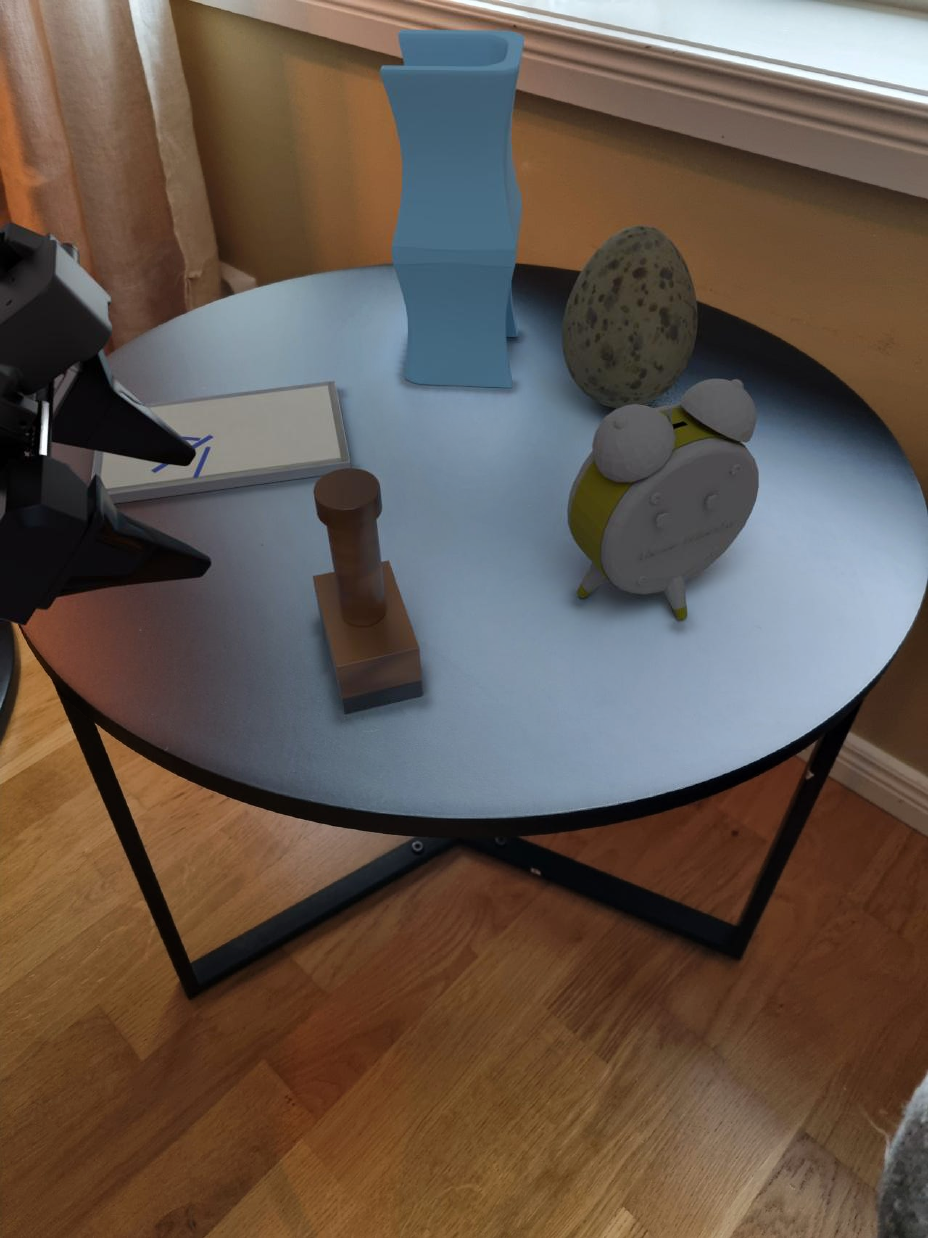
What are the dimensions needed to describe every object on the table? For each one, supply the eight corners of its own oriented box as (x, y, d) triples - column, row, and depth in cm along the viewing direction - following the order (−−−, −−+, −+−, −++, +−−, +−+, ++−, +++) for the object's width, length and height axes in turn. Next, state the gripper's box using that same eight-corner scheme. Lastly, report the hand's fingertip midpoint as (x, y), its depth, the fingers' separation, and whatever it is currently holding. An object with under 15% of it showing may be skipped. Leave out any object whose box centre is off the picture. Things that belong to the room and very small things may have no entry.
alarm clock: (693, 535, 67) (733, 351, 56) (753, 593, 63) (809, 406, 52) (556, 587, 64) (570, 401, 53) (609, 653, 60) (637, 465, 49)
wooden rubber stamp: (344, 714, 56) (313, 544, 46) (321, 624, 62) (289, 453, 52) (423, 695, 57) (409, 525, 47) (393, 608, 63) (375, 437, 53)
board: (92, 507, 71) (88, 496, 70) (103, 418, 79) (99, 408, 78) (351, 471, 73) (350, 461, 72) (336, 389, 81) (335, 379, 81)
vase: (416, 327, 89) (398, 28, 70) (518, 331, 88) (526, 29, 70) (401, 383, 82) (377, 69, 64) (511, 388, 81) (519, 70, 63)
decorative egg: (655, 450, 74) (684, 272, 64) (536, 414, 78) (544, 240, 67) (700, 385, 81) (734, 213, 70) (588, 355, 85) (603, 187, 74)
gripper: (-103, 322, 28) (316, 511, 38) (-45, 120, 41) (259, 301, 50) (-216, 567, 33) (182, 680, 43) (-134, 319, 45) (160, 450, 55)
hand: (199, 509), depth 47 cm, fingers open, 9 cm apart
